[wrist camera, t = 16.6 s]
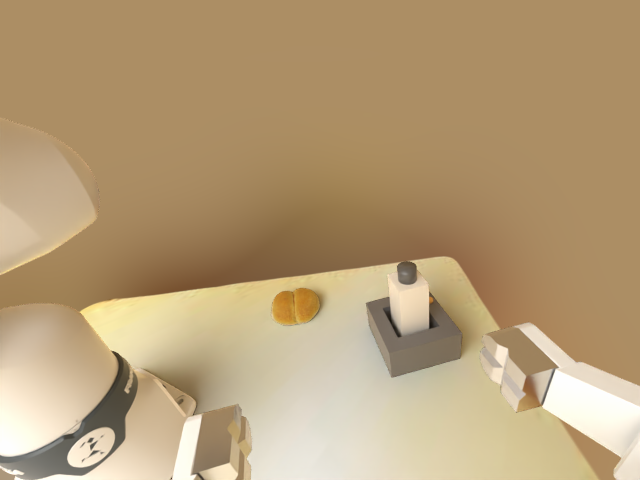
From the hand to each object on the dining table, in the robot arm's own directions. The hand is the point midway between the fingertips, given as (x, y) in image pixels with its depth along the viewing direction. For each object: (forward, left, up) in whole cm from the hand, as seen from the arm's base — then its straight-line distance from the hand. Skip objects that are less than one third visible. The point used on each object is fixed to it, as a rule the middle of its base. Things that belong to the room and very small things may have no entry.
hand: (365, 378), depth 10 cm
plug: (-11, +24, -28) cm, 39 cm away
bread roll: (-32, +20, -30) cm, 48 cm away
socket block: (-11, +24, -29) cm, 39 cm away
